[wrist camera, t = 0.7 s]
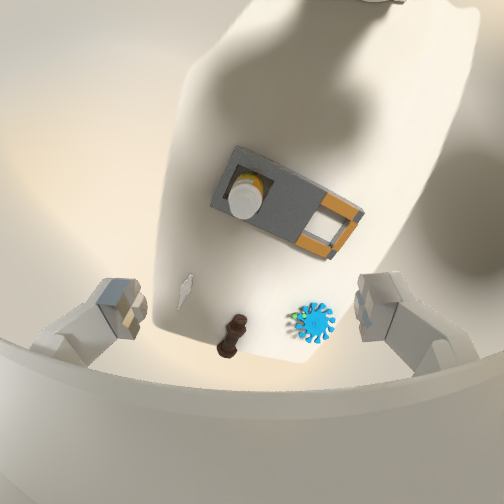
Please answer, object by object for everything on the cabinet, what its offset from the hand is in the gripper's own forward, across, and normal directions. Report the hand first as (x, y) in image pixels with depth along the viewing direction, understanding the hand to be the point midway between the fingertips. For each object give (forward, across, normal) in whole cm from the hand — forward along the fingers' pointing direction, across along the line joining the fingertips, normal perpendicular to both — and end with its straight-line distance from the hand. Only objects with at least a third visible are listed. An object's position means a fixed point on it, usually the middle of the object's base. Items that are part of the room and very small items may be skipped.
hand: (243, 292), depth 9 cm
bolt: (+41, +12, +49) cm, 65 cm away
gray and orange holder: (+40, -3, +13) cm, 42 cm away
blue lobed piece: (+40, -8, +42) cm, 59 cm away
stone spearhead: (+41, +23, +35) cm, 59 cm away
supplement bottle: (+40, +4, +9) cm, 41 cm away
